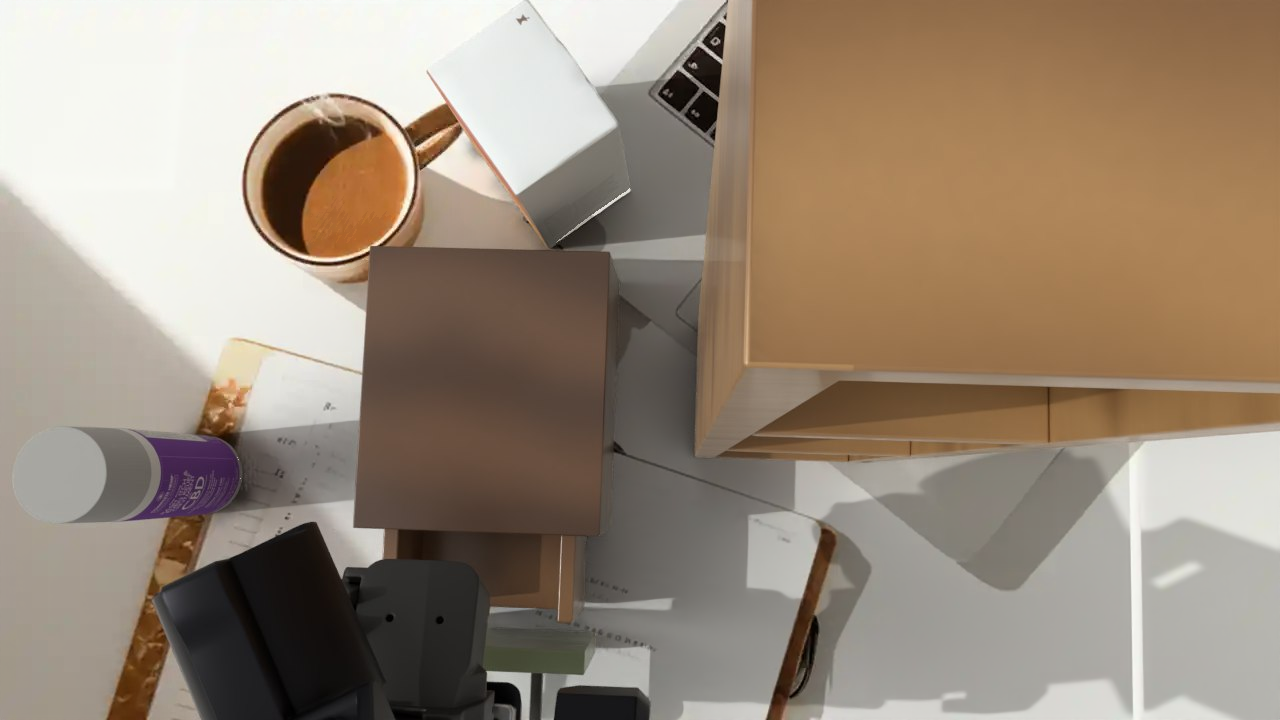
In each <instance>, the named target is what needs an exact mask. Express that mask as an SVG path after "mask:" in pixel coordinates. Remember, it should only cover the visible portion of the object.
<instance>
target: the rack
mask: <svg viewBox="0 0 1280 720" xmlns="http://www.w3.org/2000/svg"><path fill="white" fill-rule="evenodd" d="M725 19H726V21H725V31H724V42H723V50H722V51H723V52H722V61H721V71H720V72H721V74H720V83H719V93H718V106H717V116H716V126H715V134H714V135H715V136H714V145H713V146H714V147H713V157H712V168H711V177H710V188H709V189H710V190H709V200H708V210H707V220H706V221H707V222H706V229H705V230H706V232H705V242H704V253H703V263H702V274H701V282H700V283H701V284H700V297H699V305H698V306H699V307H698V316H697V333H696V334H698V336H697V335H696V336H697V338H696V339H697V340H696V369H695V370H696V373H695V375H696V376H695V404H694V405H695V411H694V414H695V415H694V443H693V444H694V445H693V457H694V458H705V459H706V458H707V459H714V458H715V459H733V460H734V459H739V460H765V461H767V460H768V461H769V460H770V461H796V462H797V461H798V462H799V461H800V462H824V463H825V462H826V463H827V462H829V463H857V464H858V463H859V464H870V463H882V462H894V461H906V460H909V461H910V460H919V459H921V460H922V459H932V458H935V459H936V458H946V457H958V456H961V457H962V456H973V455H985V454H986V455H987V454H999V453H1013V452H1023V451H1024V452H1025V451H1026V452H1027V451H1038V450H1051V449H1062V448H1063V449H1065V448H1075V447H1076V448H1078V447H1091V446H1102V445H1103V446H1104V445H1115V444H1129V443H1141V442H1142V443H1143V442H1155V441H1156V442H1157V441H1169V440H1183V439H1194V438H1195V439H1196V438H1209V437H1221V436H1233V435H1246V434H1259V433H1272V432H1273V433H1274V432H1280V0H727V10H726V18H725Z"/></svg>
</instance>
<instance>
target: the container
mask: <svg viewBox="0 0 1280 720" xmlns="http://www.w3.org/2000/svg"><path fill="white" fill-rule="evenodd" d="M237 457H238V458H237ZM238 459H239V460H238ZM14 460H15V461H14V464H13V468H12V477H11V478H12V479H11V480H12V481H11V482H12V487H13V492H14V496H15V498H16V500H17V501H18V503H19V505H20V506H21V508H22V509H23V510H24V511H25V512H26V513H27V514H28V515H30V516H31V517H33V518H34V519H36V520H38V521H40V522H43V523H47V524H54V525H57V524H58V525H61V524H64V525H65V524H90V523H91V524H92V523H120V522H123V523H124V522H132V521H133V522H134V521H145V520H157V519H168V518H169V519H170V518H181V517H192V516H193V517H195V516H203V515H204V516H205V515H211V514H214V513H217V512H219V511H221V510H223V509H225V508H226V507H228V506H229V505H230V504H231V503H232V502H233V500H234V499H235V498H236V496H237V495H238V493H239V491H240V489H241V486H242V483H243V477H244V476H243V475H244V472H243V470H244V469H243V465H242V461H241V458H240V456H239V454H238V453H237V450H235V449H234V447H233V446H232V445H231V444H230V443H229V442H227V441H225V440H224V439H222V438H219V437H216V436H213V435H205V434H195V433H194V434H192V433H182V432H171V431H170V432H169V431H158V430H145V429H137V428H136V429H135V428H125V427H124V428H122V427H96V426H68V425H67V426H66V425H65V426H63V425H61V426H60V425H59V426H53V427H49V428H46V429H44V430H41V431H39V432H37V433H35V434H34V435H33V436H32V437H31V438H29V439H28V440H27V441H26V442H25V444H24V445H23V446H22V447H21V449H20V450H19V452H18V454H17V455H16V458H15V459H14ZM240 478H241V479H240Z"/></svg>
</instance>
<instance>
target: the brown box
mask: <svg viewBox="0 0 1280 720" xmlns="http://www.w3.org/2000/svg"><path fill="white" fill-rule="evenodd" d="M367 273H368V274H367V287H366V307H365V308H366V309H365V320H364V321H365V322H364V323H365V324H364V338H363V339H364V340H363V356H362V368H361V369H362V371H361V388H360V402H359V403H360V405H359V418H358V419H359V420H358V421H359V422H358V435H357V453H356V468H355V486H354V487H355V488H354V501H353V502H354V503H353V518H352V519H353V520H352V528H354V529H375V530H384V529H397V530H425V531H453V532H480V533H508V534H536V535H563V536H587V537H593V538H596V537H597V538H599V537H601V536H602V535H605V533H607V532H608V531H610V530H611V528H612V513H613V485H614V483H613V481H614V461H615V460H614V458H615V455H614V454H615V428H616V427H615V426H616V405H617V403H616V401H617V375H618V373H617V372H618V349H619V347H618V345H619V343H618V342H619V320H620V317H619V316H620V294H621V293H620V291H621V290H620V288H621V287H620V288H619V282H620V278H619V275H618V272H617V268H616V266H615V262H614V260H613V257H612V253H611V252H610V251H600V250H596V251H595V250H559V249H558V250H557V249H556V250H555V249H517V248H516V249H513V248H512V249H511V248H480V247H479V248H478V247H477V248H474V247H472V248H471V247H439V246H438V247H436V246H435V247H434V246H432V247H431V246H397V245H396V246H394V245H393V246H392V245H370V247H369V257H368V272H367Z"/></svg>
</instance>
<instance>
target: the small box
mask: <svg viewBox="0 0 1280 720" xmlns="http://www.w3.org/2000/svg"><path fill="white" fill-rule="evenodd" d="M426 73H427V76H428V77H429V79H430V80H431V82H432V84H433V85H434V86H435V88H436V89H437V91H438V92H439V94H440V95H441V97H442V98H443V100H444V102H445V103H446V105H447V106H448V108H449V109H450V111H451V113H452V115H453V116H454V117H455V119H456V120H457V122H458V123H459V125H460V126H461V128H462V130H463V132H464V133H465V135H466V137H467V139H468V140H469V142H470V143H471V144H472V146H473V147H474V149H475V150H476V152H477V153H478V154H479V155H480V157H481V159H483V161H484V163H486V165H487V166H488V168H489V169H490V171H491V172H492V173H493V174H494V176H495V177H496V179H497V180H498V182H499V183H500V184H501V185H502V187H503V188H504V189H505V191H506V192H507V194H508V195H509V196H510V198H511V199H512V201H513V202H514V203H515V205H516V206H517V207H518V209H519V211H520V212H521V213H522V215H523V216H524V217H525V219H526V220H527V221H528V222H529V224H530V226H531V227H532V228H533V230H534V231H535V233H536V234H537V235H538V237H539V238H540V240H541V241H542V243H543V244H544V246H545V247H546V248H547V249H548V250H551V248H554V247H555V246H556V245H557V244H556V242H557V241H558V240H559V239H561V238H562V237H563V236H564V235H566V234H567V233H568V232H569V231H571V230H572V229H574V228H575V227H576V226H577V225H578V224H580V223H581V222H583V221H584V220H585V219H587V218H588V217H589V216H591V215H592V214H594V213H595V212H596V211H598V210H599V209H601V208H602V207H604V206H605V205H607V204H608V203H609V202H611V201H612V200H614V199H615V198H617V197H618V196H619V195H621V194H622V193H624V192H626V191H627V190H628V189H629V188H630V186H631V181H630V177H629V172H628V166H627V160H626V154H625V149H624V144H623V139H622V134H621V128H620V123H619V121H618V119H617V118H616V116H615V115H614V114H613V112H612V111H611V110H610V107H608V105H607V104H606V102H605V101H604V100H603V98H602V96H601V95H600V94H599V92H598V91H597V89H596V88H595V87H594V86H593V84H592V82H591V81H590V79H589V78H588V77H587V75H586V74H585V72H584V71H583V70H582V68H581V67H580V65H579V64H578V62H577V61H576V59H575V58H574V56H573V55H572V54H571V53H570V51H569V50H568V49H567V46H565V44H563V42H562V41H561V40H560V38H558V36H557V35H556V34H555V32H554V31H553V30H552V29H551V27H550V26H549V25H548V24H547V22H546V21H545V19H544V18H543V17H542V15H541V14H540V13H539V12H538V11H537V9H536V8H535V6H534V5H533V4H532V2H531V1H530V0H522V1H521V2H520V3H518V4H517V5H515V6H514V7H513V8H511V9H510V10H509V11H507V12H506V13H504V14H503V15H501V16H500V17H498V18H497V19H495V21H493V22H491V23H489V24H488V25H487V26H485V27H484V28H483V29H481V30H480V31H478V32H477V33H476V34H474V35H473V36H472V37H470V38H469V39H468V40H466V41H464V42H463V43H462V44H461V45H459V46H457V47H456V48H455V49H453V50H452V51H449V53H448V54H445V56H443V57H442V58H440V59H439V60H438V61H436V62H435V63H434V64H432V65H430V66H429V67H428V68H426Z"/></svg>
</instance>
